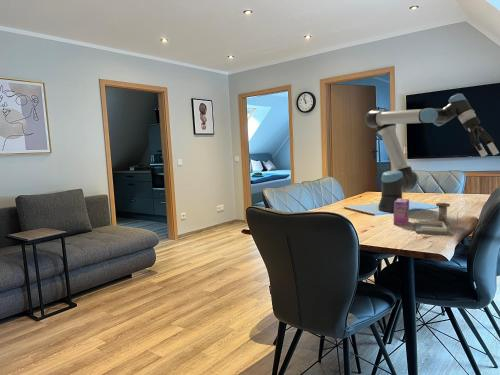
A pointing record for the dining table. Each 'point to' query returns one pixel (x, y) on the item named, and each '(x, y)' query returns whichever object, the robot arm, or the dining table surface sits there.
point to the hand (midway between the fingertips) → (490, 155)
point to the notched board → (432, 227)
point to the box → (401, 211)
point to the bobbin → (443, 212)
